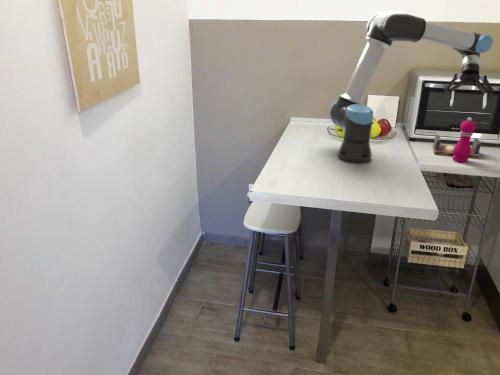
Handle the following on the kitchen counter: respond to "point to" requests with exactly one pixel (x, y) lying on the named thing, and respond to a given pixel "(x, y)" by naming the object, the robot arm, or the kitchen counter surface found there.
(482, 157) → the kitchen counter surface
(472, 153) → the level stand
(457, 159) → the pepper mill
